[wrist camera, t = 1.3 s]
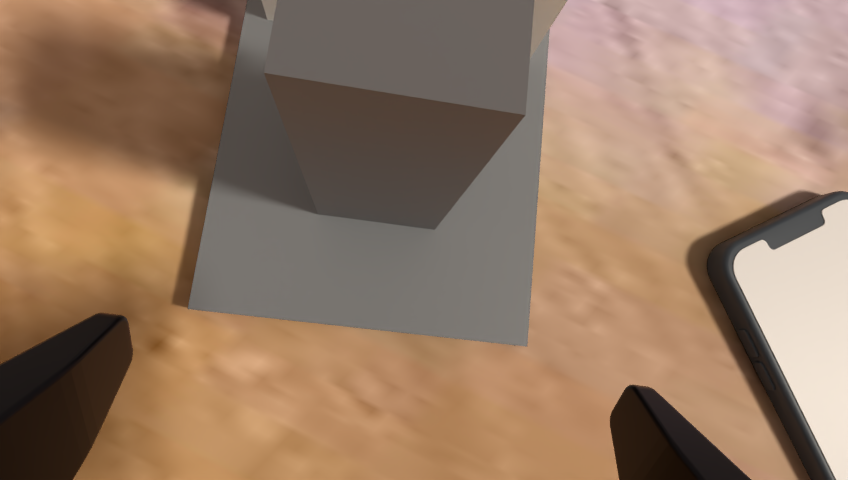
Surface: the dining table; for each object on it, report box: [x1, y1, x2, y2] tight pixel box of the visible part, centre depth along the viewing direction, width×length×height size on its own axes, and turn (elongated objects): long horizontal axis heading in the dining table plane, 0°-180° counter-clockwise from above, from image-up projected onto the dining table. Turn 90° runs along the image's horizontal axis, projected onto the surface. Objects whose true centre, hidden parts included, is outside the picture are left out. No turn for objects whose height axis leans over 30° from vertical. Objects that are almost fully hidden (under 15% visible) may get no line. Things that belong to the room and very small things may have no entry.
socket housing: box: [188, 0, 567, 346], centre depth 19 cm, size 19×14×9 cm
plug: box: [264, 0, 534, 230], centre depth 16 cm, size 6×5×12 cm
